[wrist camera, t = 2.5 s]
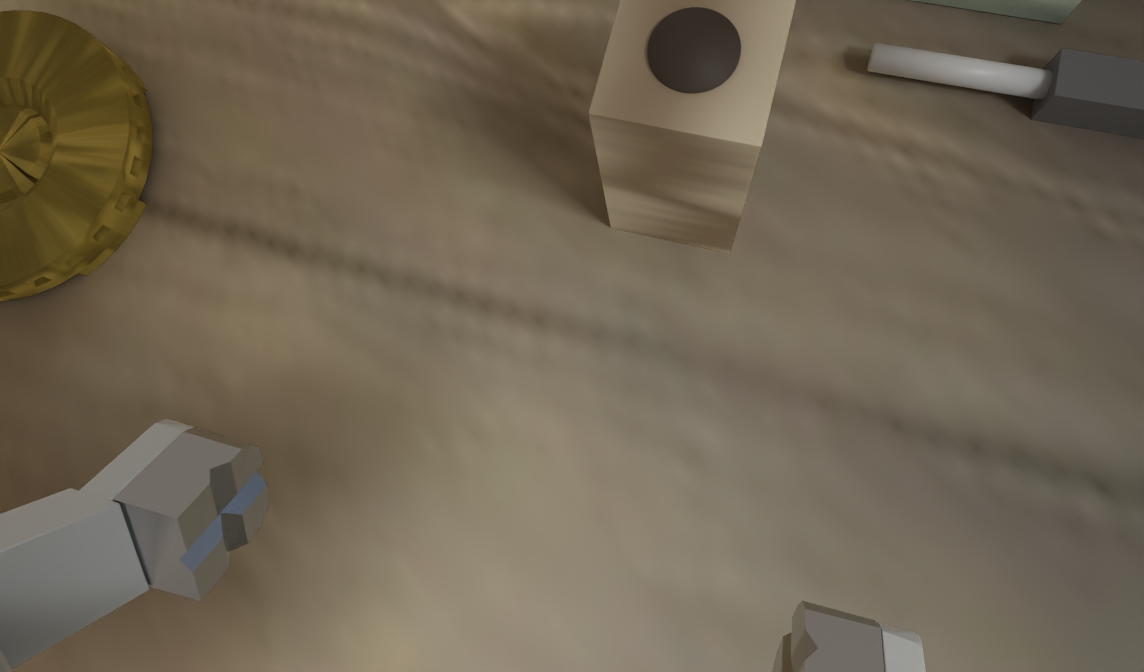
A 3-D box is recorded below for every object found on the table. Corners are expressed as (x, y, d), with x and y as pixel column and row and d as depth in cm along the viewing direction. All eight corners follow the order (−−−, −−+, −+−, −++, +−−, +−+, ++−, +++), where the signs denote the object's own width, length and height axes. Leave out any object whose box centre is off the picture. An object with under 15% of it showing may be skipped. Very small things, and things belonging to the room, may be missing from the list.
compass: (-86, 64, 34) (-136, 36, 32) (164, 20, 33) (131, -12, 31) (-107, 323, 32) (-163, 312, 30) (163, 285, 31) (126, 270, 28)
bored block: (756, 141, 29) (799, -14, 20) (729, 253, 28) (762, 145, 19) (637, 118, 29) (626, -42, 20) (608, 227, 29) (584, 110, 20)
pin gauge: (1185, 100, 27) (1221, 72, 25) (1179, 146, 27) (1216, 121, 25) (869, 49, 29) (883, 20, 27) (860, 91, 29) (873, 65, 27)
